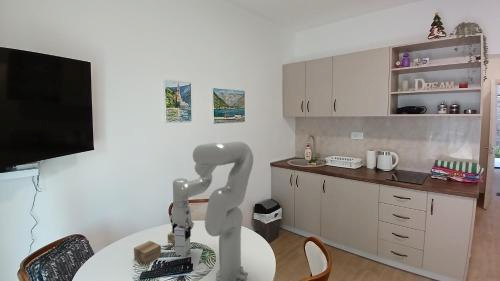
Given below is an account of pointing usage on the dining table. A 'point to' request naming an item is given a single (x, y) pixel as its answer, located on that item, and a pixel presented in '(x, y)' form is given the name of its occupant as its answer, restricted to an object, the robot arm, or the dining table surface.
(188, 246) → the syrup box
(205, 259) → the dining table surface
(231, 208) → the robot arm
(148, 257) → the brown cardboard box
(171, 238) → the oak cube
